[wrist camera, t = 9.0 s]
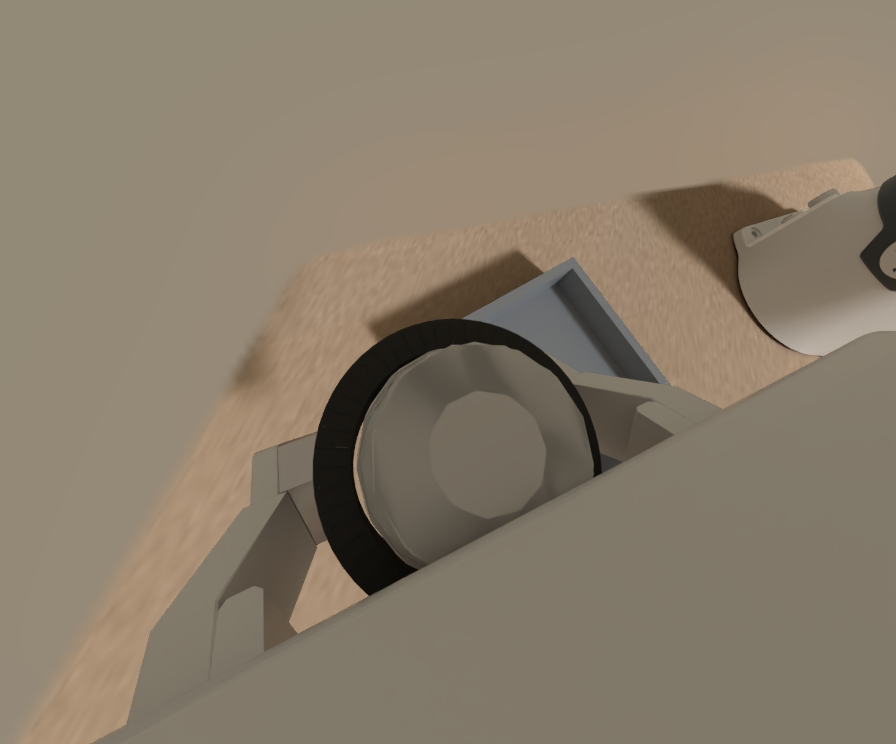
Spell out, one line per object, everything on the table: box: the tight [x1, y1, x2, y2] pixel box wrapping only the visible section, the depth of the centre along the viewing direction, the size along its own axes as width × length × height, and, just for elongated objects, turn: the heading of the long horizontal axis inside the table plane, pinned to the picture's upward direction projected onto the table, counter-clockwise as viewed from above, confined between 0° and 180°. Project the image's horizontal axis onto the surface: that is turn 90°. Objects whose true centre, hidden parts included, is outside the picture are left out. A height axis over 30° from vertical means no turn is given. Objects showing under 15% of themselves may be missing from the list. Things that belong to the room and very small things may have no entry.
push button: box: [313, 319, 602, 596], centre depth 10 cm, size 7×5×10 cm
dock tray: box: [462, 257, 671, 473], centre depth 27 cm, size 16×16×4 cm
